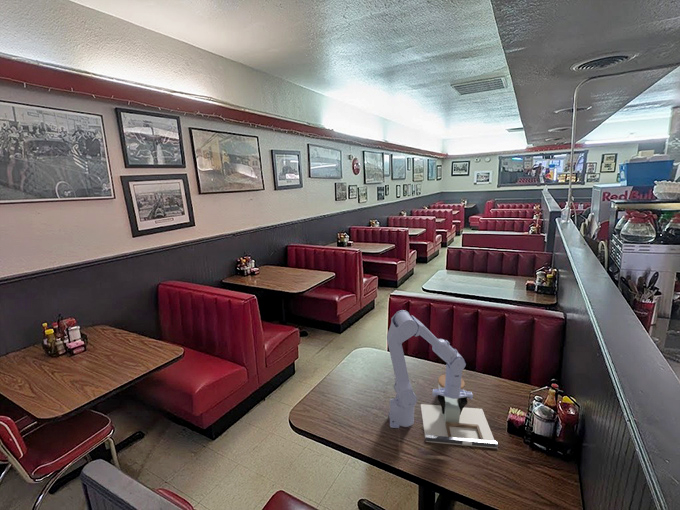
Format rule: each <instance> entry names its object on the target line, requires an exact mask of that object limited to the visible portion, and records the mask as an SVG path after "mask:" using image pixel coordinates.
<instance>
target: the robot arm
mask: <svg viewBox="0 0 680 510" xmlns="http://www.w3.org/2000/svg"><path fill="white" fill-rule="evenodd" d="M390 320H391V322H390V324H389V325H390V326H389V329H388V332H387V334H386V342H387V346H388V351H389V354H390V359H391V365H392V369H393V373H394V384H393V385H394V386H393V389H394V391H395V393H396V396H395V397H394V398H390V399H389V412H388V418H389V427H390V428H392V429H394V428H395V429H400V427H405V428H407V427H411V426H413V425H414V423H415V405H416V404H417V401H418V398H417V395H416V394H415V392H414V390H413V386H412V384H411V381H410V377H409V373H408V369H407V368H408V367H407V362H406V358H405V353H404V348H403V345H402V344H403V343H404V342H405V341H407V340H409V339H410V338H412V337H413V336H414V337H419V336H420V337H422V338H423V339H424V340H426V342H427V343H428V344H430V345H431V347H432V348H431V349H432V351H433V352H434V353H435V354H436V355H437V356H438V357H439V358H440V359H441V360H442V361H444V362H445V363H446V364H445V374H446V376H445V388H440V389H438V388H433V389H432V393H431V394H432V397H435V398H436V396H437V399H438V403H439V405H440V406H441V407H442V414H444V413H445V397H448V398H452V399H458V400H457V401H458V404H459V408H460V414H461V412H462V410H463V408H464V407H465V408H466V406H467V405H468V402H469V401H468V399H469V400H473V399H474V398H473V397H474V395H473V393H472V391H467V390H465V389H464V390H461V379H462V378H463V377H462V375H463V370H464V369H465V367H466V365H467V363H466V361H465V359H464V358H463V356H462V355H461V354H460V353H459V351H458V350H457V349H456V348H453V346H452V345H450V344H451V343H450V342H449V341H448V340H447V339H443V338H437V337H436V336H435V335H434V334H433V333H432V331H430V330H429V328H427V326H425V325H424V323H422V322H421V321H420V320H419V319H418V318H416V317H415V316H414V315H412V314H411V315H410V312H409V311H407V310H406V309H405V310H404V309H401V310H398V311H396V313H394V315H393V316H392V317H391V318H390ZM444 396H445V397H444Z"/></svg>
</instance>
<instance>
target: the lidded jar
mask: <svg viewBox="0 0 680 510" xmlns="http://www.w3.org/2000/svg"><path fill="white" fill-rule="evenodd" d="M445 376H446V373H445V374H444V373H443V374H441V375H440V376H439V377H438V378H437V387H438V388H437V389H440V388H445ZM465 386H466V383H465V380H464V379H463V378H461V390H464V391H465ZM457 401H458V399H457Z"/></svg>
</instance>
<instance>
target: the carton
mask: <svg viewBox="0 0 680 510" xmlns="http://www.w3.org/2000/svg"><path fill="white" fill-rule="evenodd" d="M444 397H445V396H444ZM444 418H445V422H453V423H459V419H460V408H459V404H458V400H457V399H452V398H448V397H445V413H444Z"/></svg>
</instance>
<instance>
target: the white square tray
mask: <svg viewBox="0 0 680 510" xmlns="http://www.w3.org/2000/svg"><path fill="white" fill-rule="evenodd" d="M420 409H421V416H422V424H423V431H424V438H425V440H424V441H425V442H427V443H435V444H436V443H437V444H447V445H456V446H457V445H458V446H467V447H478V448H479V447H480V448H490V449H499V448H498V447H499V444H498V441H497V440H495V438H494V435H493V433H492V431H491V427H490V426H489V423H488V420H487V418H486V415H485V413H484V410H483V408H479V407H475V408H474V407H466V406H465V407H464V408H463V410H462V412H461V414H460V419H459V423H453V422H445V418H444V414H442V407H441V405H440V404H439V405H437V404H425V403H421V404H420Z"/></svg>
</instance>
